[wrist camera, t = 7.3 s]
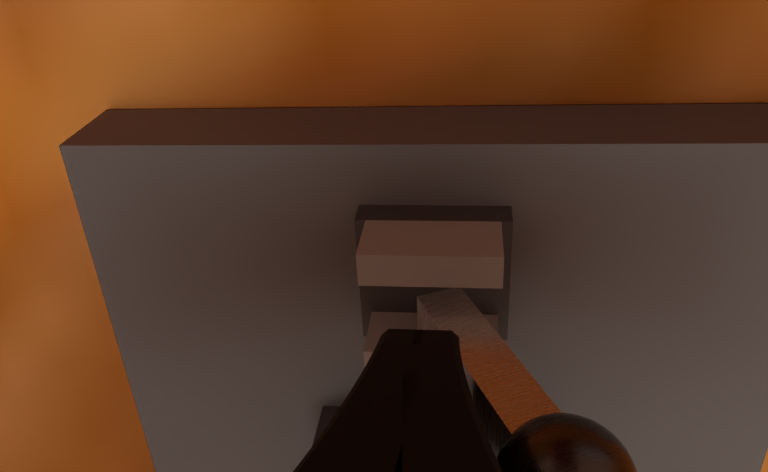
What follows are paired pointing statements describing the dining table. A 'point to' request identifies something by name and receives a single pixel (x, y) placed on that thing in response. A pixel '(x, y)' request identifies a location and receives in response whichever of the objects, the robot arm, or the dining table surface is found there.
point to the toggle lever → (518, 399)
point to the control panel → (433, 264)
